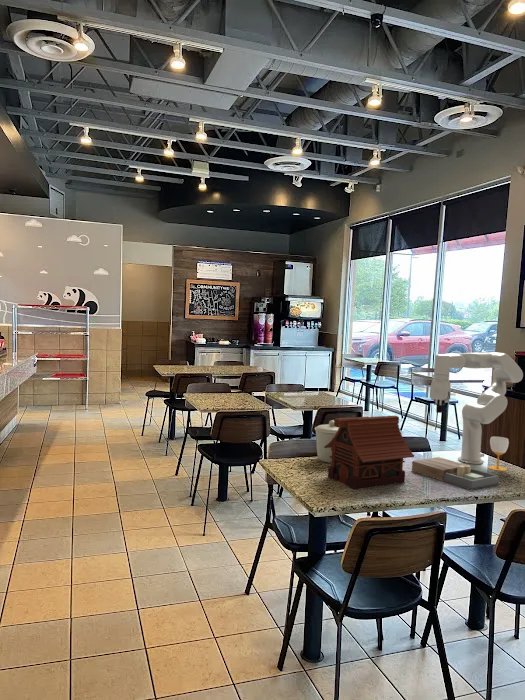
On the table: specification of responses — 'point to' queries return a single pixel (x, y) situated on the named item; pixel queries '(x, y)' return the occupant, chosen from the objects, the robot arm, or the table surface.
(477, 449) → the robot arm
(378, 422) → the house
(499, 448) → the cup
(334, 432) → the canister
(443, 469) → the tan wooden board
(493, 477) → the tray
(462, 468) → the maple block
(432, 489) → the table surface
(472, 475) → the sage block
